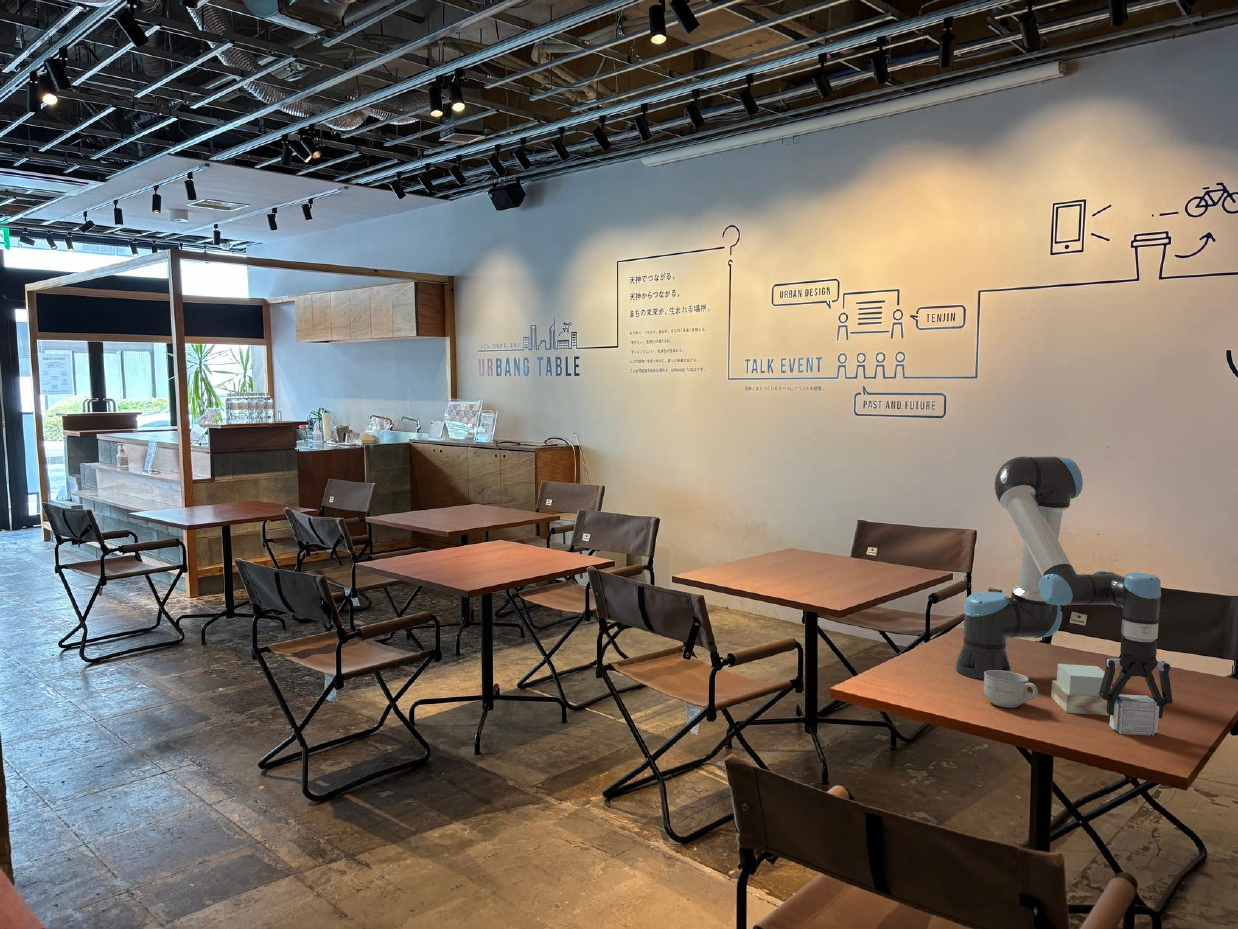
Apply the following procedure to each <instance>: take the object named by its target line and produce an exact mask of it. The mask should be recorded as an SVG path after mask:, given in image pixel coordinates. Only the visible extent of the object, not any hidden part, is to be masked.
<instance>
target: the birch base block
mask: <svg viewBox="0 0 1238 929" xmlns="http://www.w3.org/2000/svg"><path fill="white" fill-rule="evenodd" d="M1050 695H1051V696H1050V697H1051V698H1052V700H1054V701H1055V703H1056V704H1057V705H1058V706H1059V707H1060V706H1061V707H1060V708H1061V709H1063V711H1064V712H1065V713H1066V712H1067V713H1068V714H1080V715H1081V714H1082V715H1095V716H1097V715H1098V716H1109V714H1108V713H1107V700H1104V699H1103V698H1102V697H1100V696H1085V695H1070V694H1068V693H1067V692H1066V691H1065V690H1064V689H1063V688H1062V687H1061V686H1060V685H1059V684H1058V683H1057V679H1055V680H1054V679H1053V680H1051V693H1050Z"/></svg>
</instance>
